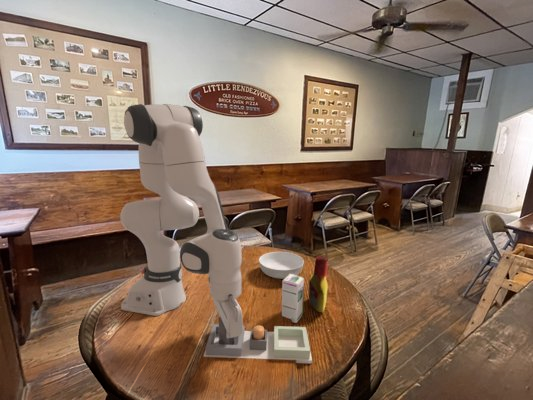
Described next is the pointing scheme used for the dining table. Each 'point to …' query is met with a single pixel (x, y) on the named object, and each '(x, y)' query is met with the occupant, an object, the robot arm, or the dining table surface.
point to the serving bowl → (280, 264)
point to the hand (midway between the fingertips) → (226, 329)
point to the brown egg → (258, 332)
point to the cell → (222, 337)
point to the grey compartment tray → (263, 345)
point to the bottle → (318, 284)
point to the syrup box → (292, 297)
